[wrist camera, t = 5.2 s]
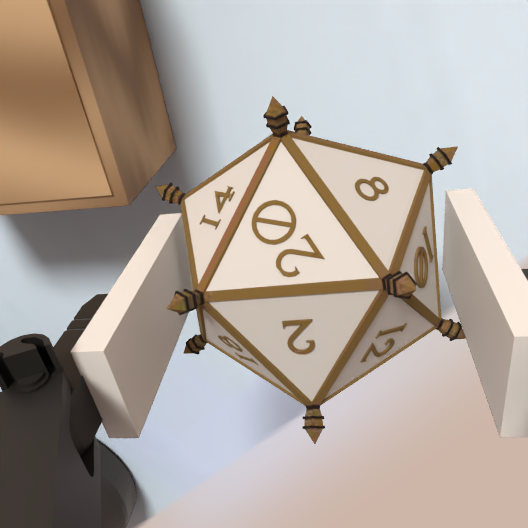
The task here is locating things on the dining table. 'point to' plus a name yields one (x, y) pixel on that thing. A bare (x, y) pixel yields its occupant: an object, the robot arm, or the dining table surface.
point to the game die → (312, 261)
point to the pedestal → (77, 105)
